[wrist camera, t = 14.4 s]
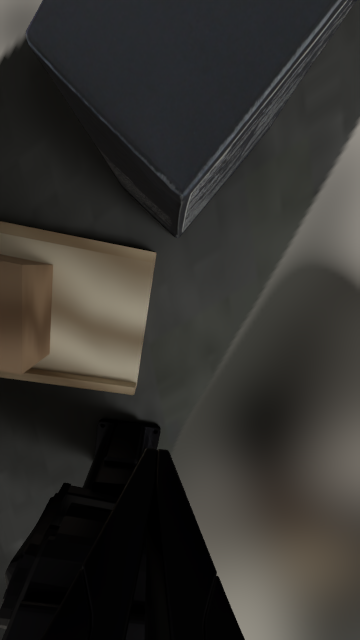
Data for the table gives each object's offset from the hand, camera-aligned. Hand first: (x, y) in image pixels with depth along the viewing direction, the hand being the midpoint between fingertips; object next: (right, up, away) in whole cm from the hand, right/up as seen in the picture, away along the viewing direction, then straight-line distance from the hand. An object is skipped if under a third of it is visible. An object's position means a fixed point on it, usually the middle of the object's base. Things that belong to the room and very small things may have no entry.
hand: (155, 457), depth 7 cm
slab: (-13, +6, +9) cm, 17 cm away
